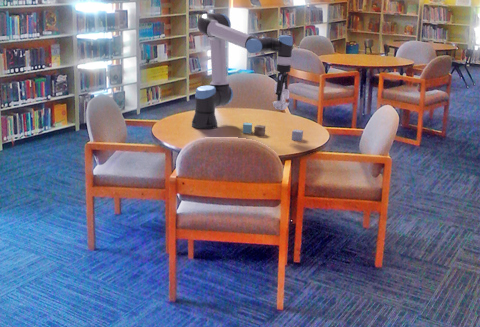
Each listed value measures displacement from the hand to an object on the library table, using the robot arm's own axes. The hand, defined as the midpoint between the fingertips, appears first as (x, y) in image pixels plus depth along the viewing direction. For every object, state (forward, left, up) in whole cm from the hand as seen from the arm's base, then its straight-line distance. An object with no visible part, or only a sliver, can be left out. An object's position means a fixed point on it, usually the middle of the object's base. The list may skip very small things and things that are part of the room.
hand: (280, 104), depth 329 cm
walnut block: (-11, -2, -18) cm, 21 cm away
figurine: (0, 0, -3) cm, 3 cm away
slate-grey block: (+11, -2, -18) cm, 22 cm away
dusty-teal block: (-19, 0, -18) cm, 26 cm away
